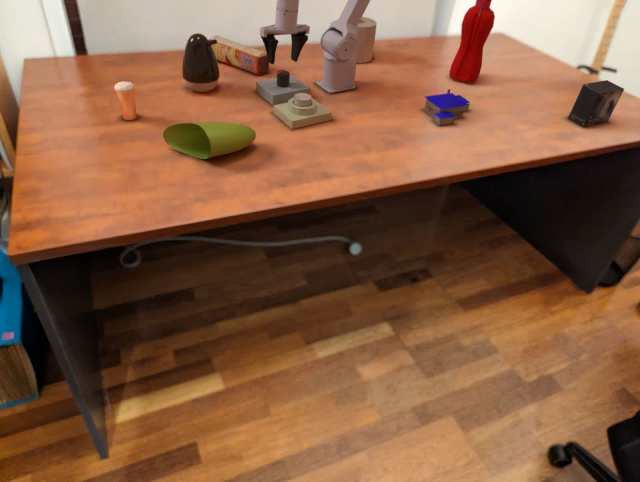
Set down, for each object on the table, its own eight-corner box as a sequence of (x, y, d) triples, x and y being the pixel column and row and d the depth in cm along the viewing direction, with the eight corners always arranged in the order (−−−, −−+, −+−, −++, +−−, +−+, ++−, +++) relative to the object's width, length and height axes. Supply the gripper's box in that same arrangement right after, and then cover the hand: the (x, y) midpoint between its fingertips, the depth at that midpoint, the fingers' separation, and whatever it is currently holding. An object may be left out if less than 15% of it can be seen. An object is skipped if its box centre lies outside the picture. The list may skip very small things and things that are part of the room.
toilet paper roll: (339, 48, 175) (342, 14, 167) (373, 52, 174) (378, 18, 166) (335, 60, 165) (338, 24, 158) (371, 65, 165) (376, 29, 157)
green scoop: (177, 133, 102) (265, 123, 111) (161, 119, 111) (243, 111, 121) (180, 169, 106) (265, 156, 115) (165, 152, 115) (244, 142, 124)
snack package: (271, 71, 155) (271, 49, 150) (257, 77, 150) (257, 55, 146) (220, 53, 163) (219, 32, 158) (206, 59, 158) (204, 37, 154)
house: (480, 120, 139) (486, 101, 135) (438, 126, 134) (443, 107, 130) (457, 103, 146) (462, 84, 143) (416, 108, 141) (420, 89, 138)
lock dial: (285, 81, 142) (285, 68, 140) (291, 86, 140) (292, 72, 137) (274, 83, 140) (274, 70, 138) (280, 88, 138) (280, 74, 136)
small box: (584, 128, 139) (600, 93, 133) (566, 118, 144) (581, 83, 137) (609, 122, 143) (626, 88, 137) (590, 113, 148) (606, 79, 141)
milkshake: (145, 114, 127) (138, 76, 121) (132, 123, 123) (125, 84, 117) (129, 110, 128) (122, 73, 122) (116, 119, 124) (108, 80, 118)
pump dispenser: (213, 98, 137) (209, 42, 127) (178, 92, 138) (171, 37, 128) (226, 84, 145) (223, 30, 135) (192, 79, 146) (187, 25, 136)
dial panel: (292, 84, 148) (292, 74, 146) (309, 98, 142) (310, 87, 140) (256, 91, 142) (256, 81, 140) (272, 105, 136) (272, 94, 134)
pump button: (305, 98, 133) (305, 91, 131) (314, 105, 130) (315, 98, 129) (290, 102, 131) (290, 94, 129) (299, 109, 128) (299, 101, 126)
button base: (311, 105, 138) (311, 91, 136) (330, 120, 132) (331, 106, 130) (273, 112, 133) (273, 98, 130) (291, 129, 127) (292, 114, 124)
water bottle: (445, 81, 158) (466, -3, 142) (451, 70, 166) (471, -11, 150) (474, 88, 156) (498, 3, 140) (479, 76, 164) (502, -5, 148)
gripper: (301, 3, 134) (296, 54, 142) (254, 5, 126) (252, 58, 134) (316, 11, 129) (310, 63, 138) (269, 13, 122) (265, 68, 130)
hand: (282, 61), depth 136 cm, fingers open, 7 cm apart
